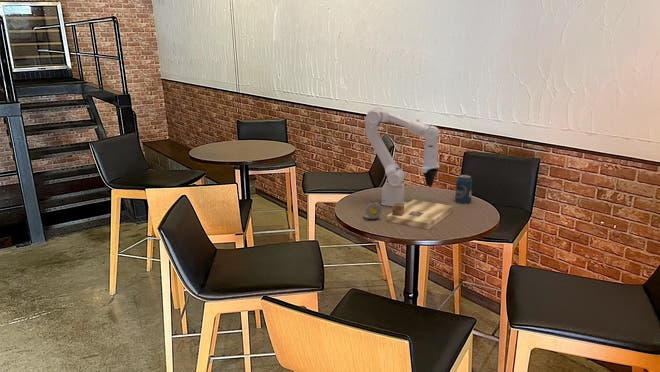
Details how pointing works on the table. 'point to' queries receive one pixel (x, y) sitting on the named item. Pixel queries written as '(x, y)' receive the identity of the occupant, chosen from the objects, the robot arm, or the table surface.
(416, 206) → the deck
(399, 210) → the walnut cube
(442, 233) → the table surface
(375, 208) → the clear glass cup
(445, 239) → the table surface
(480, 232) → the table surface
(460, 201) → the soda can
